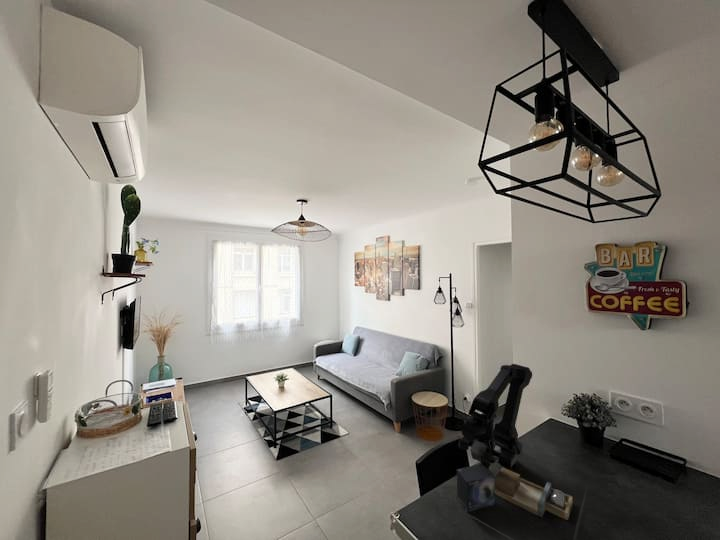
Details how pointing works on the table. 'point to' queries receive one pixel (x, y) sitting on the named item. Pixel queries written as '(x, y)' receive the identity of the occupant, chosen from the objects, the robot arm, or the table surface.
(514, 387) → the robot arm
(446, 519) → the table surface
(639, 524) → the table surface
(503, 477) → the slab
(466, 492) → the small box
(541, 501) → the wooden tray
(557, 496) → the roller
